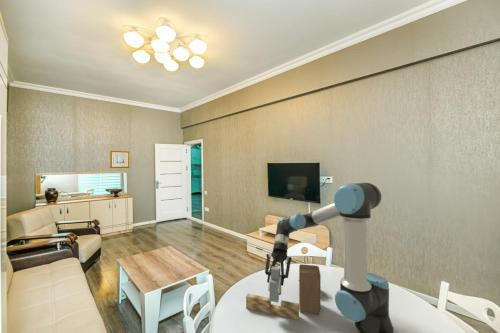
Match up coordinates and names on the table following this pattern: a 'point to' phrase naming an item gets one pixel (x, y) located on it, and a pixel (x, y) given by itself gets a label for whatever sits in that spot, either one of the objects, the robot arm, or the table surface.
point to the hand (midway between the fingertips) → (273, 291)
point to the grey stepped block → (274, 284)
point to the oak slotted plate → (272, 306)
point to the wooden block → (309, 289)
